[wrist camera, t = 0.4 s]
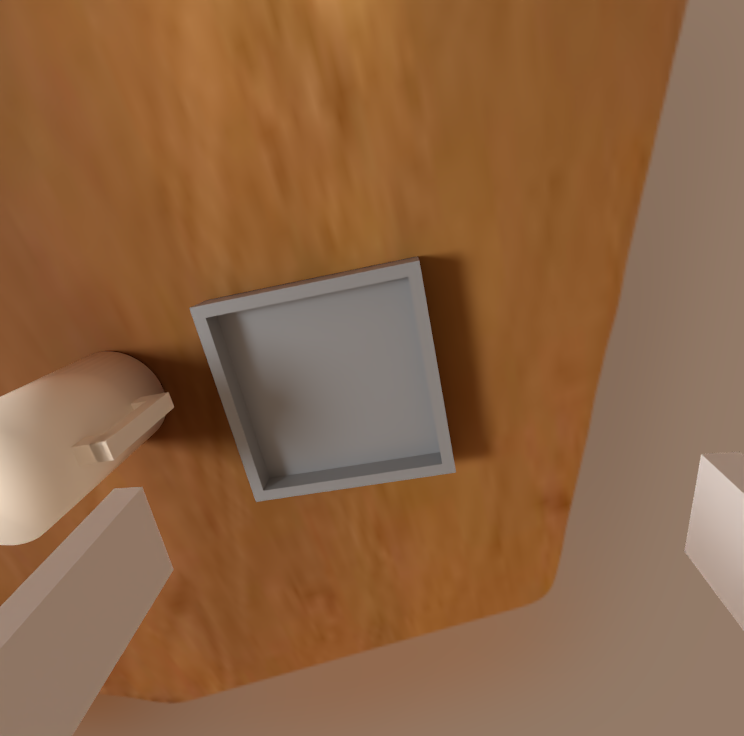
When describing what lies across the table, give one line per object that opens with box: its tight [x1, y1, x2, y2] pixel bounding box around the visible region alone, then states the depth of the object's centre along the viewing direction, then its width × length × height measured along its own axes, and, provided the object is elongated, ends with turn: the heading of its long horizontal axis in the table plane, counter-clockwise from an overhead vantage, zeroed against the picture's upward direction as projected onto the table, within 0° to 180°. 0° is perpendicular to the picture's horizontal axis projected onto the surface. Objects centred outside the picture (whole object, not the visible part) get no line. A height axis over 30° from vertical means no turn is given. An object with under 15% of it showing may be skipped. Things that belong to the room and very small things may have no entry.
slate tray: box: [190, 256, 456, 502], centre depth 38 cm, size 18×18×3 cm
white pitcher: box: [0, 351, 174, 545], centre depth 34 cm, size 9×12×14 cm
